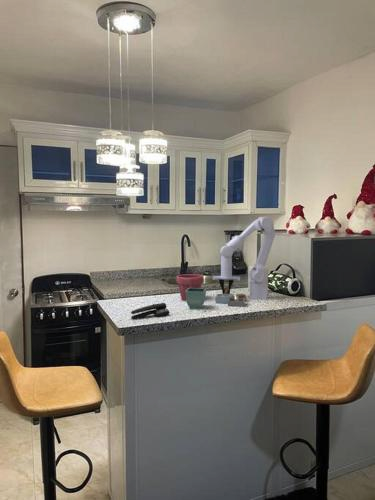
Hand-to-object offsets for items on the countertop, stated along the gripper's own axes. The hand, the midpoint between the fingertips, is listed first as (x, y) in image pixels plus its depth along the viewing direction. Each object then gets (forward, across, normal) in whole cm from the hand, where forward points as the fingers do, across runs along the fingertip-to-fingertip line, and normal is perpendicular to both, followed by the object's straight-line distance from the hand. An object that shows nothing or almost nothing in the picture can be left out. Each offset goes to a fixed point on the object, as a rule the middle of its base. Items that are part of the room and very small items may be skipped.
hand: (226, 293), depth 209 cm
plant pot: (+3, -19, -4) cm, 20 cm away
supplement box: (+3, +17, +23) cm, 29 cm away
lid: (+1, 0, 0) cm, 1 cm away
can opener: (+3, -31, -42) cm, 52 cm away
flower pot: (+3, -13, -23) cm, 27 cm away
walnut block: (+3, +8, -6) cm, 10 cm away
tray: (+3, +6, -15) cm, 16 cm away
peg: (+2, +6, -15) cm, 16 cm away
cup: (+3, -1, -10) cm, 10 cm away
